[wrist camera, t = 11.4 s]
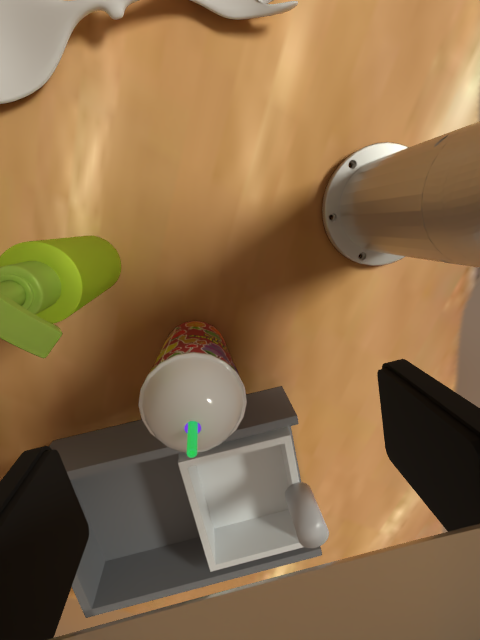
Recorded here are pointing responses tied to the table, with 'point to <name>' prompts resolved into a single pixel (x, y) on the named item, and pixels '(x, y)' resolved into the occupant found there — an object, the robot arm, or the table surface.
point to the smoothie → (193, 391)
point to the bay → (152, 512)
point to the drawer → (251, 500)
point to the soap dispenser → (51, 286)
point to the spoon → (57, 25)
